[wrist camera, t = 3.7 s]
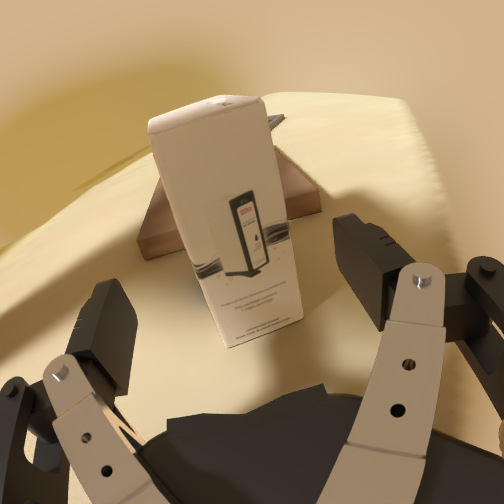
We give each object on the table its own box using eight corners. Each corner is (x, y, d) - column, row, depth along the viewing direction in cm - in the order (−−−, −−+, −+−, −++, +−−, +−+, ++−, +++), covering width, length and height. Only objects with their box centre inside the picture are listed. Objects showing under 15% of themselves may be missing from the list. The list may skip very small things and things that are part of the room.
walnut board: (145, 260, 27) (136, 240, 26) (168, 175, 49) (164, 164, 48) (321, 211, 27) (318, 189, 26) (264, 149, 50) (262, 137, 49)
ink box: (197, 272, 24) (143, 118, 18) (259, 249, 24) (219, 94, 18) (225, 353, 16) (139, 130, 10) (309, 319, 17) (267, 93, 11)
